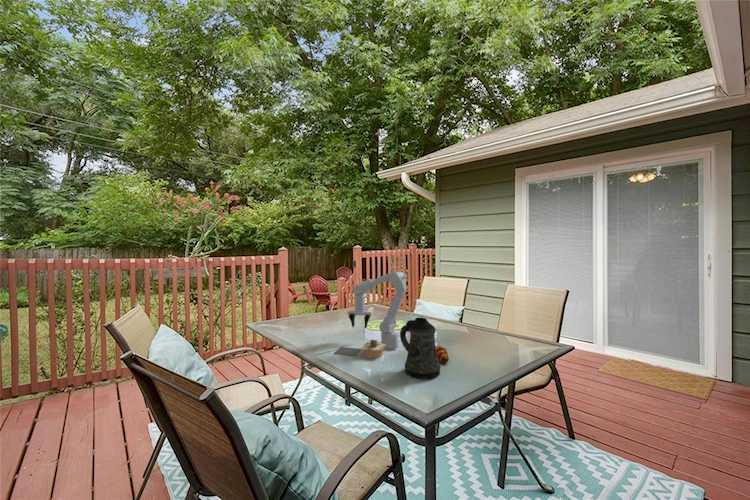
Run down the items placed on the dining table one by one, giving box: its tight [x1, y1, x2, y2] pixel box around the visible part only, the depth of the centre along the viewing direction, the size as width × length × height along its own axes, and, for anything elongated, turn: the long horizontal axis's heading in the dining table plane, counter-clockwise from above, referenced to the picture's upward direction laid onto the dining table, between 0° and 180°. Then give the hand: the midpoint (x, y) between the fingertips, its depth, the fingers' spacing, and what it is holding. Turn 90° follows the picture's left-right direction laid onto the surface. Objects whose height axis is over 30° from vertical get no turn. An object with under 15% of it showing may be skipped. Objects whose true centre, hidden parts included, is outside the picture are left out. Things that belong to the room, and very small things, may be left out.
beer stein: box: [399, 317, 441, 380], centre depth 158 cm, size 16×19×25 cm
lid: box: [360, 339, 386, 353], centre depth 181 cm, size 11×11×4 cm
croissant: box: [435, 345, 449, 363], centre depth 179 cm, size 21×10×8 cm, turn 19°
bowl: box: [364, 349, 384, 359], centre depth 181 cm, size 9×9×4 cm
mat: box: [332, 346, 362, 358], centre depth 186 cm, size 13×13×1 cm
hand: (359, 327), depth 203 cm, fingers open, 7 cm apart
